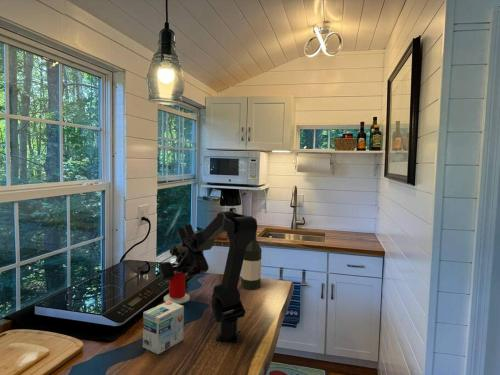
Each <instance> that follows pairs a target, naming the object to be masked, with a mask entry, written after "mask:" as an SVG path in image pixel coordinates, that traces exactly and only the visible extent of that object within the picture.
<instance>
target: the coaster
mask: <svg viewBox="0 0 500 375" xmlns="http://www.w3.org/2000/svg"><path fill="white" fill-rule="evenodd" d="M190 300H191V296H190V295H189V294H188V293H186V292H185V296H184V297H183V298H181V299H177V300H176V299H172V298H170V296H169V293H167V294H166V295H165V296H163V302H164V303H165V302H167V301H171V302H173V303H176V304H179V305H181V304H185V303H187V302H189V301H190Z"/></svg>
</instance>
